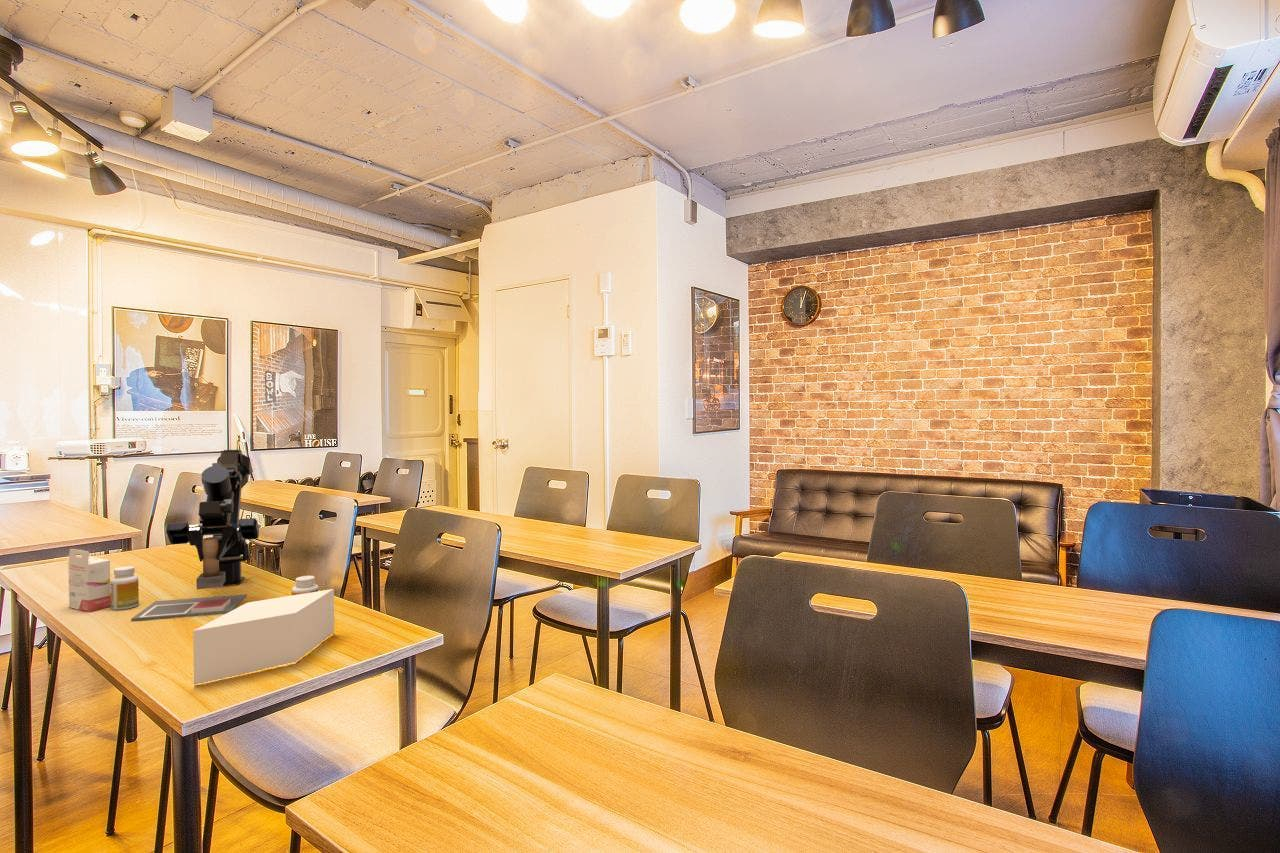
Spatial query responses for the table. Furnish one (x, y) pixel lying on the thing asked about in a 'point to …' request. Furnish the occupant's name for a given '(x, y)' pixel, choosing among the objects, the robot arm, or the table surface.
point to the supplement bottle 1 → (124, 588)
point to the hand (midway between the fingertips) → (209, 560)
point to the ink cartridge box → (88, 582)
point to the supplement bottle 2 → (305, 585)
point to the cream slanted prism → (262, 635)
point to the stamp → (210, 566)
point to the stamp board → (189, 607)
